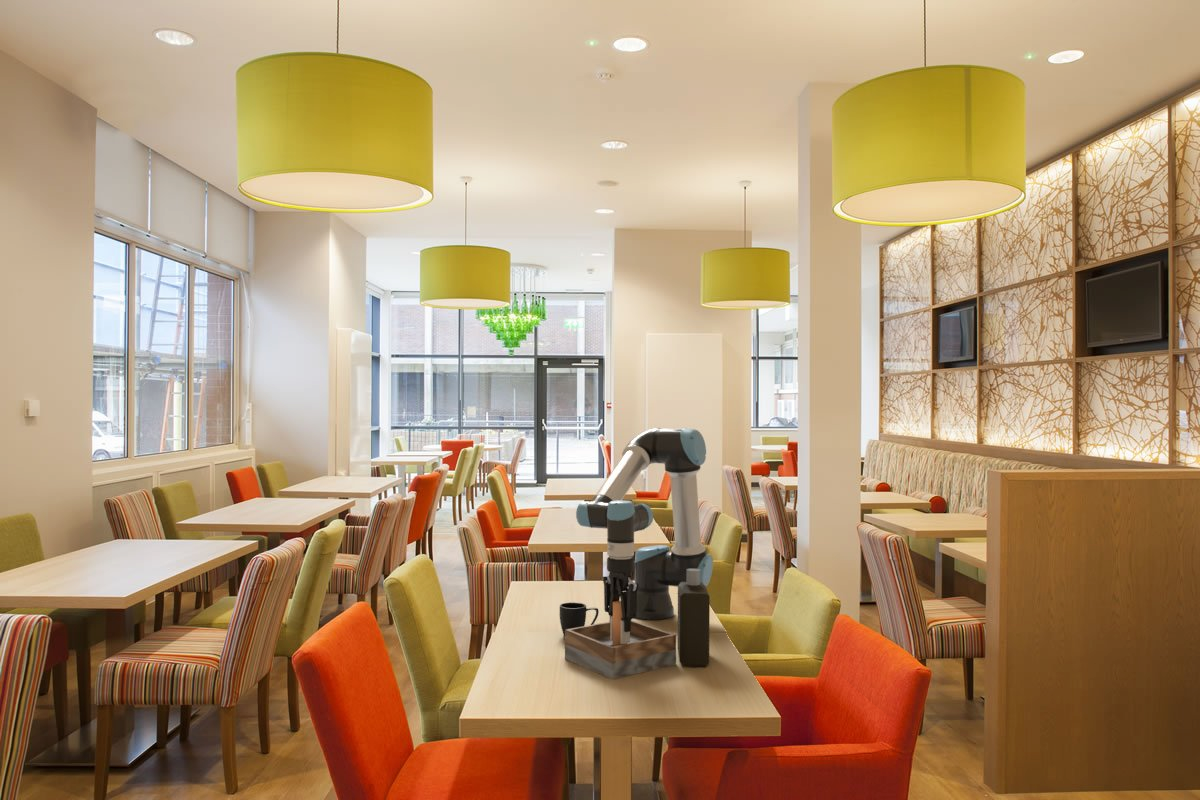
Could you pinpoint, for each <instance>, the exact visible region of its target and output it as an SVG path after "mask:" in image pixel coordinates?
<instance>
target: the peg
mask: <svg viewBox="0 0 1200 800" xmlns="http://www.w3.org/2000/svg"><path fill="white" fill-rule="evenodd" d="M621 618H623V617H622V608H621V600H619V601H614V602H613V647H614V646H619V645H624V644H620V641H621ZM625 644H627V643H625Z"/></svg>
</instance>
